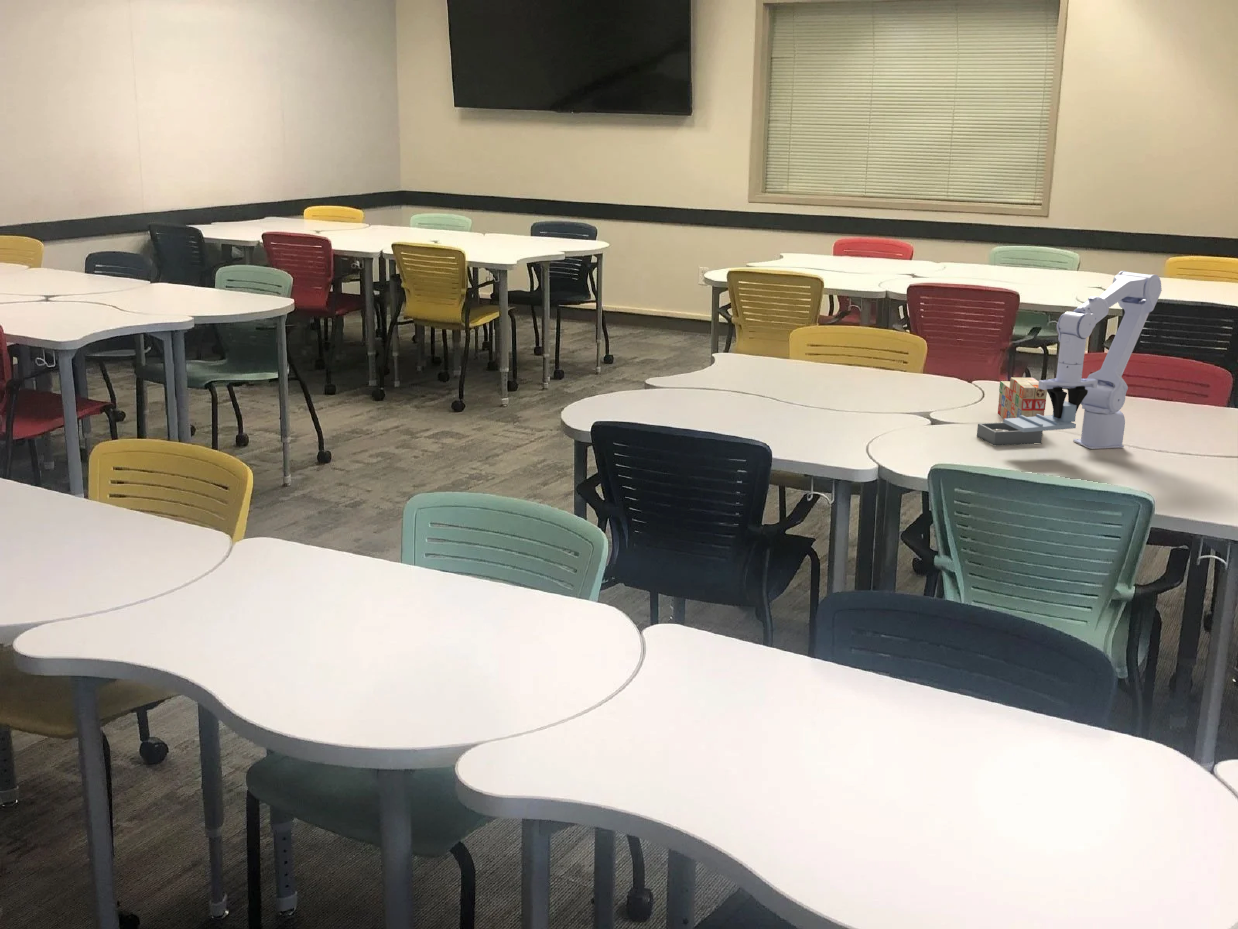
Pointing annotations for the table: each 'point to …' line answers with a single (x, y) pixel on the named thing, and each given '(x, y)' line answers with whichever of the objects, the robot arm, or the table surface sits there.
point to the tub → (1006, 434)
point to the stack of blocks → (1021, 398)
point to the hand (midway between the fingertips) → (1064, 417)
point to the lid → (1045, 420)
